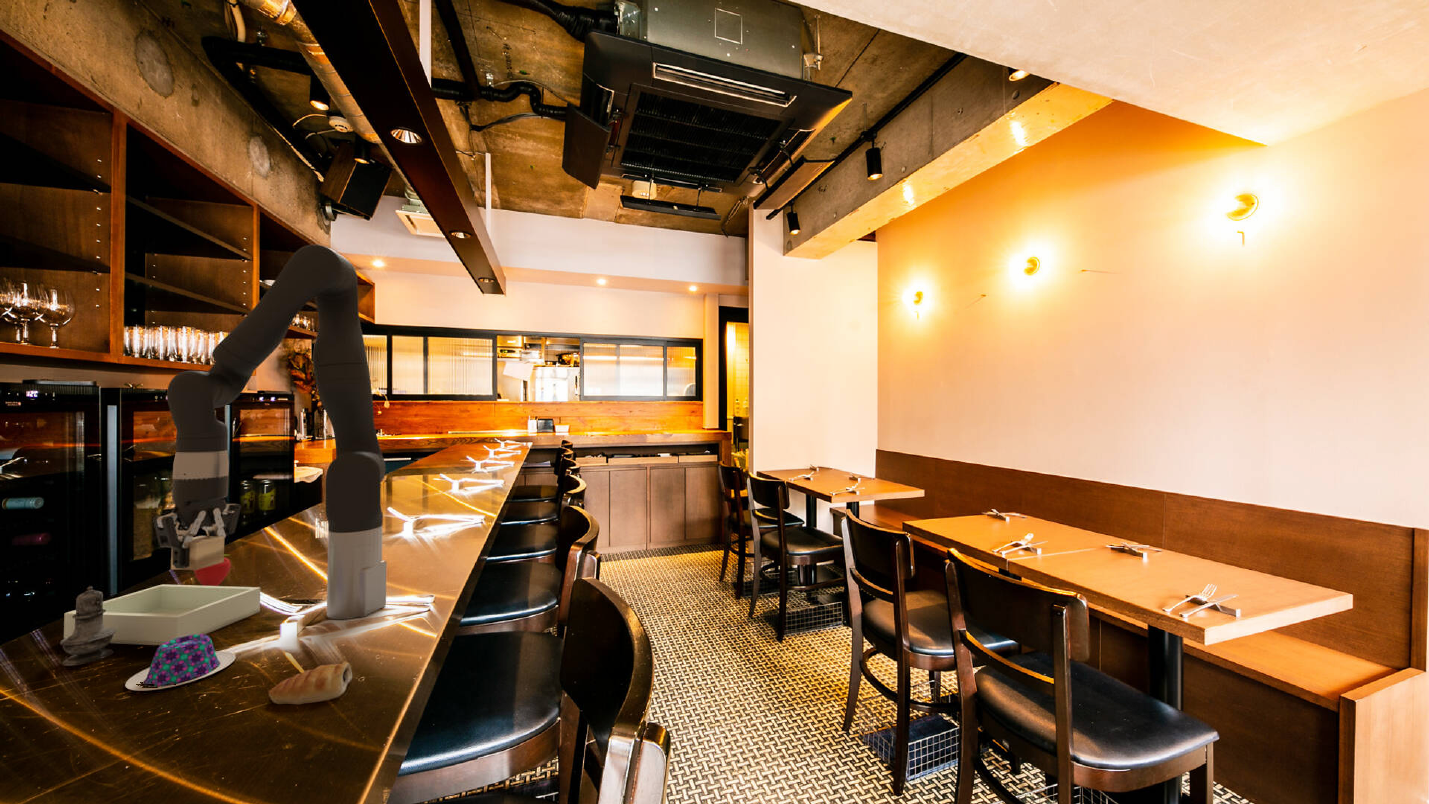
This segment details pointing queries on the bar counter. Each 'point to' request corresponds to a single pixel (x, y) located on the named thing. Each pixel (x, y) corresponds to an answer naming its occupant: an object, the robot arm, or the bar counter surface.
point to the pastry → (313, 685)
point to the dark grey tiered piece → (88, 631)
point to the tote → (173, 612)
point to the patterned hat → (181, 662)
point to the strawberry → (213, 573)
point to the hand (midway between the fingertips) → (198, 562)
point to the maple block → (204, 552)
